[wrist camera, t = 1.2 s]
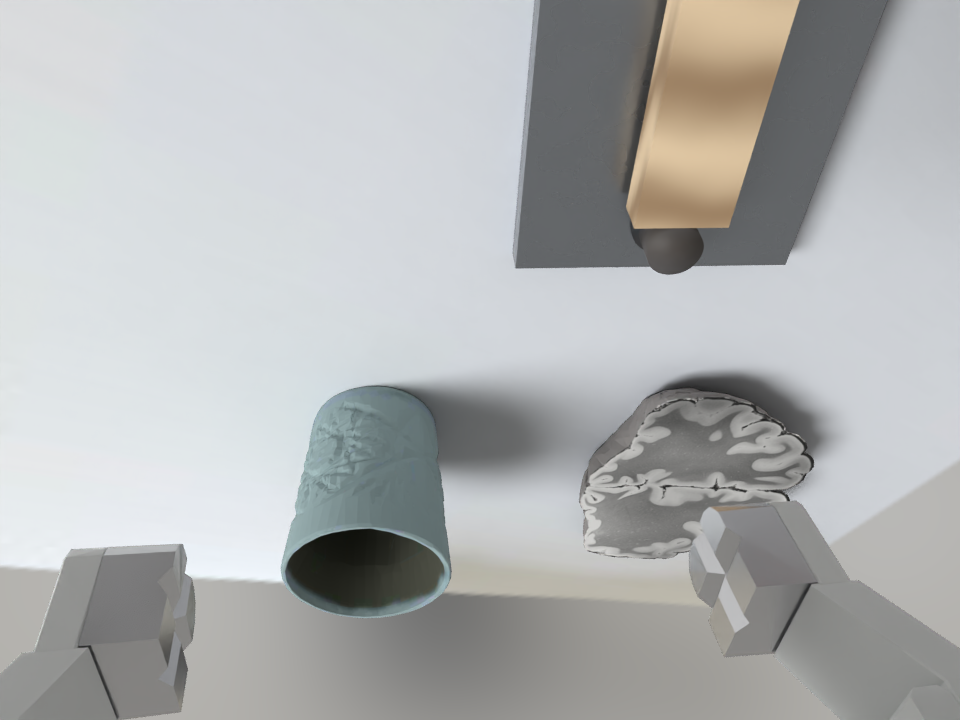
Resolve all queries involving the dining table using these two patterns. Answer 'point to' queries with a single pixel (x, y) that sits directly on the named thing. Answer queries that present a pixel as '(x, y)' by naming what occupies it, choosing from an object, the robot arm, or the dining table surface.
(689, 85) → the swing bar
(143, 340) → the dining table surface
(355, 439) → the teal textured cup
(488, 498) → the dining table surface
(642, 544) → the brain section slice
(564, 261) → the gray base panel
